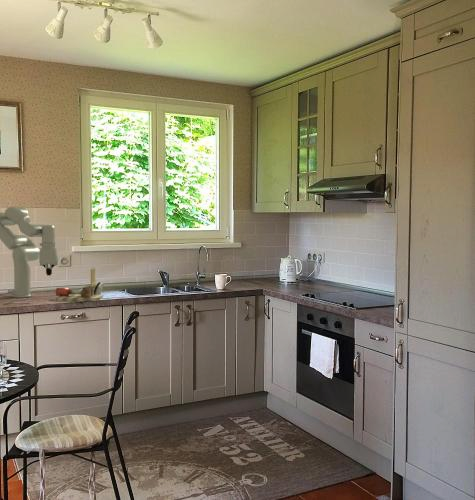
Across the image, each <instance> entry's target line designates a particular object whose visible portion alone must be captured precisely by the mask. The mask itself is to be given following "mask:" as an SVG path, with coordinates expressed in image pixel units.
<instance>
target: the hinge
mask: <svg viewBox="0 0 475 500" xmlns="http://www.w3.org/2000/svg"><path fill="white" fill-rule="evenodd" d="M104 285H105V284H104V283H103V282H100V281H97V282H95V286H94V295H102V291H103V289H104Z"/></svg>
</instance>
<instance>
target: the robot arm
mask: <svg viewBox="0 0 475 500" xmlns="http://www.w3.org/2000/svg"><path fill="white" fill-rule="evenodd" d="M30 222H31V217H30V216H29V211H28V209H27V208H26V207H23V206H9V207H7V208H6V209H5V211H4V212H0V241H1V242H2V243H3V244H4V245H5V246H6V248H7V249H8V250H10V251H12V252H11V255H12V260H13V275H14V276H13V278H14V279H13V281H14V284H13V285H14V286H13V287H14V288H13V289H8V290H7V294H11V297H12V298H31V297H33V296H34V293H31V266H30V263H28V262H33V261H38V260H39V266H41V267H44V269H45V273H46V276H52V274H53V272H52V271H53V270H52V269H53V268H54V267H56V266H59V263H58V261H59V260H58V258H59V257H58V251H57V247H56V234H55V233H56V229H55V225H52V224H31V223H30ZM14 225H15V226H16V225H17V226H18V228H19V231H20V233H22V234H19V235H18V234H15V233H14V232H13V231H12V230H11V229H10V228H8V226H10V227H11V226H14ZM31 238H41V243H39V246H40V249H39V247H38V246H37V245H36V244H35V243H34V242H33V240H32V239H31Z"/></svg>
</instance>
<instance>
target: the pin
mask: <svg viewBox="0 0 475 500" xmlns="http://www.w3.org/2000/svg"><path fill="white" fill-rule="evenodd" d="M81 290H82V289H73V288H72V289H71V288H70V287H56V289H55V296H57V297H59V296H69V295H81Z"/></svg>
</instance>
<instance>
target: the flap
mask: <svg viewBox="0 0 475 500" xmlns="http://www.w3.org/2000/svg"><path fill="white" fill-rule="evenodd" d="M95 284H96V268H95V267H93V268H91V269H90V285H91V287H93V286H95Z"/></svg>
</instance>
